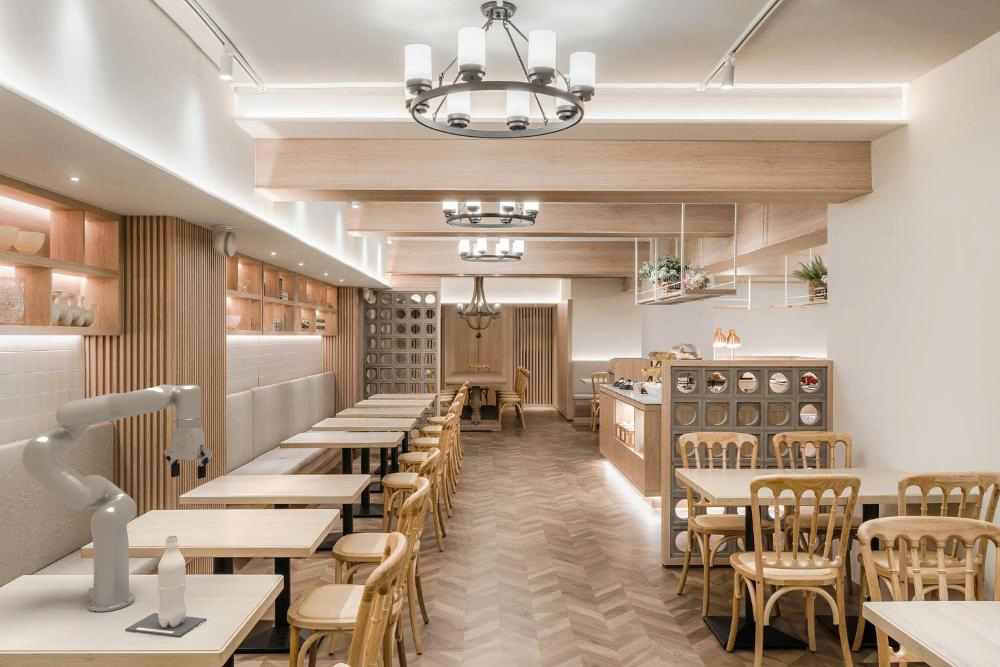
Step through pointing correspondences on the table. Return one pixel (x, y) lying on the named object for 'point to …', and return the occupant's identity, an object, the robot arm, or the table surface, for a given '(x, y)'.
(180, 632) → the board
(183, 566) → the water bottle
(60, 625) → the table surface
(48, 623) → the table surface
